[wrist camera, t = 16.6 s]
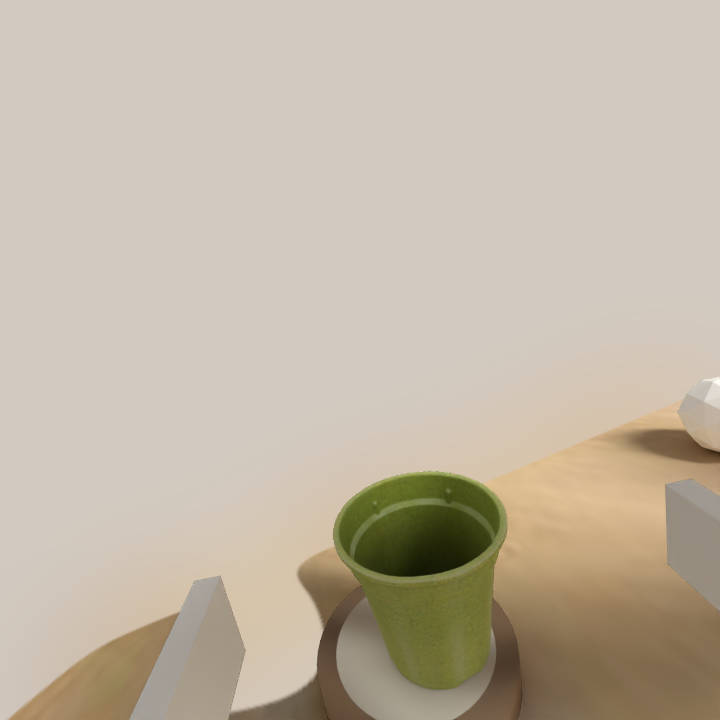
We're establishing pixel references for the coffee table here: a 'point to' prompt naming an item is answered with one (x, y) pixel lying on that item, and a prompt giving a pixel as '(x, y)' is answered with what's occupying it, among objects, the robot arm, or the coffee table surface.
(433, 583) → the plant pot
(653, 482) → the coffee table surface
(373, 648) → the pedestal
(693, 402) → the geometric ball
